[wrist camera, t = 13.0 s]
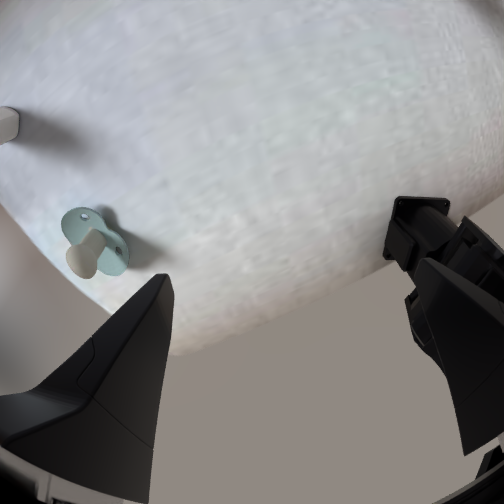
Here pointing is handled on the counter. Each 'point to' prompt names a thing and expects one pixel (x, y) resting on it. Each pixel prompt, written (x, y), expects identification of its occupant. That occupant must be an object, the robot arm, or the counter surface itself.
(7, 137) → the eye dropper bottle
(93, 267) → the pacifier
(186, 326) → the counter surface
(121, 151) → the counter surface
